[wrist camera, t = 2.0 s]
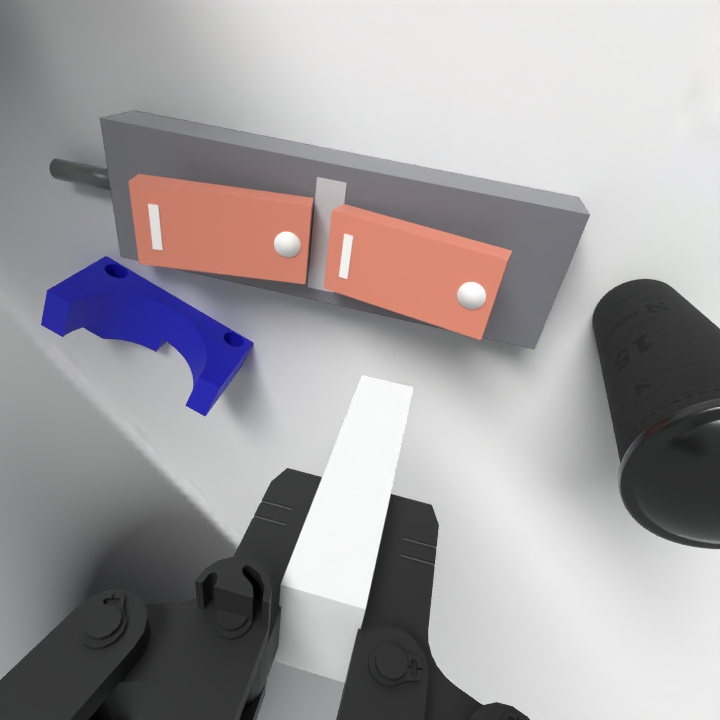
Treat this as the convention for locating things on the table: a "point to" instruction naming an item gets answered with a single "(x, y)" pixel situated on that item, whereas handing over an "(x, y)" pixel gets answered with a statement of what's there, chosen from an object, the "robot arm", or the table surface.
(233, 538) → the table surface
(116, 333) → the cable clip
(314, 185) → the power strip
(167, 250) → the rocker
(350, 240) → the rocker
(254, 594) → the robot arm
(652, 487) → the drinking cup
